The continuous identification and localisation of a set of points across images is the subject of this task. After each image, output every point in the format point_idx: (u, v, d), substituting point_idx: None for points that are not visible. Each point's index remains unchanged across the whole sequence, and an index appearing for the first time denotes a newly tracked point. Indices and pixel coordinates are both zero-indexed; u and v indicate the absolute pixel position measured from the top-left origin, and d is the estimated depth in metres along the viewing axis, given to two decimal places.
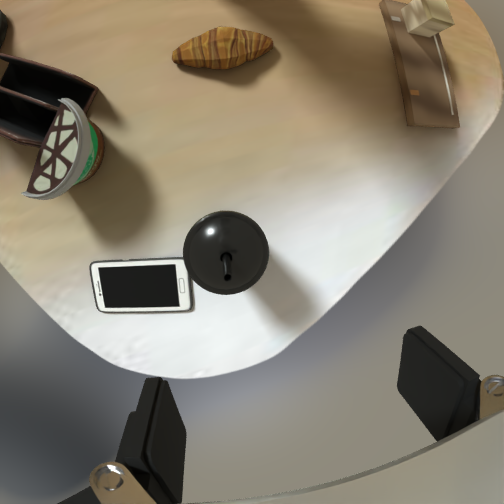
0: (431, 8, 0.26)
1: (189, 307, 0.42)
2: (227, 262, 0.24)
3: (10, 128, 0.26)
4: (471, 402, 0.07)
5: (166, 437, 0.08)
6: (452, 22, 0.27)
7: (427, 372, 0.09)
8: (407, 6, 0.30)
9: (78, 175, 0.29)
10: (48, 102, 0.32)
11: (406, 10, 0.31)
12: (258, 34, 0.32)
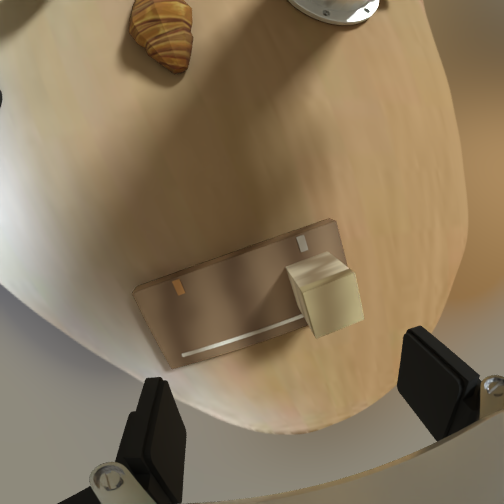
0: (324, 290, 0.24)
1: None
2: None
3: None
4: (471, 401, 0.07)
5: (166, 437, 0.08)
6: (317, 333, 0.25)
7: (427, 372, 0.09)
8: (331, 257, 0.29)
9: None
10: None
11: (324, 257, 0.30)
12: (183, 47, 0.24)
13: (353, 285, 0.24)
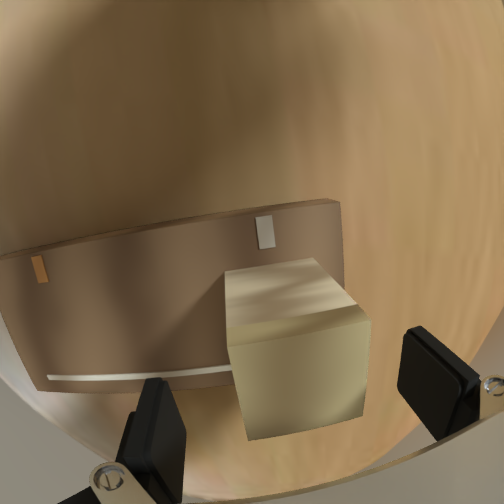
0: (287, 351, 0.09)
1: None
2: None
3: None
4: (471, 401, 0.07)
5: (166, 437, 0.08)
6: (252, 433, 0.10)
7: (427, 372, 0.09)
8: (318, 271, 0.14)
9: None
10: None
11: (305, 268, 0.15)
12: None
13: (360, 348, 0.09)
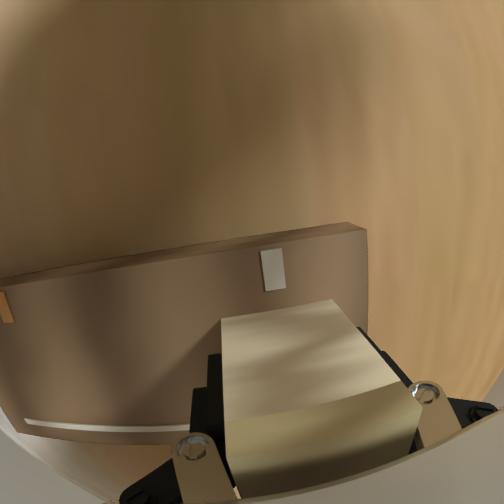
0: (309, 456, 0.06)
1: None
2: None
3: None
4: None
5: None
6: None
7: None
8: (342, 322, 0.10)
9: None
10: None
11: (324, 317, 0.11)
12: None
13: (402, 439, 0.06)
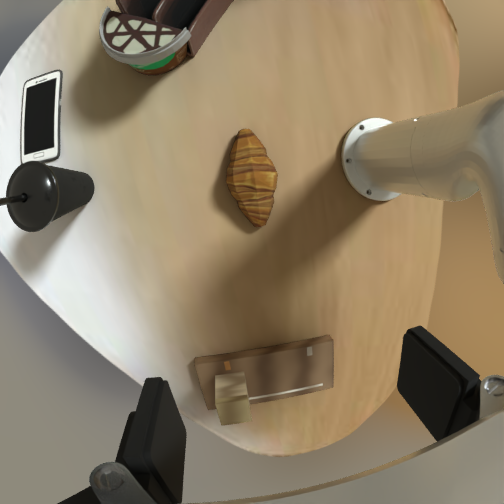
0: (228, 405, 0.39)
1: None
2: (12, 200, 0.22)
3: None
4: (471, 401, 0.07)
5: (166, 437, 0.08)
6: (222, 423, 0.40)
7: (427, 372, 0.09)
8: (242, 379, 0.44)
9: (113, 57, 0.28)
10: (189, 11, 0.33)
11: (239, 377, 0.45)
12: (266, 212, 0.40)
13: (246, 405, 0.40)
